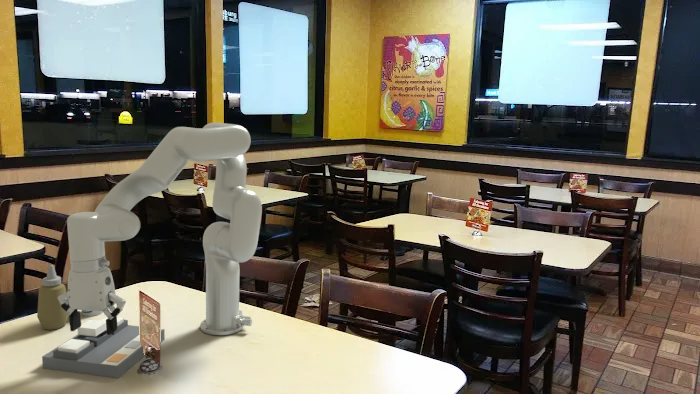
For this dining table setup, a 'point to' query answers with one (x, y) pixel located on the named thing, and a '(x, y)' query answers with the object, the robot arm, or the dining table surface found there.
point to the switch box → (101, 353)
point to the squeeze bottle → (51, 302)
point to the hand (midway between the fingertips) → (93, 330)
